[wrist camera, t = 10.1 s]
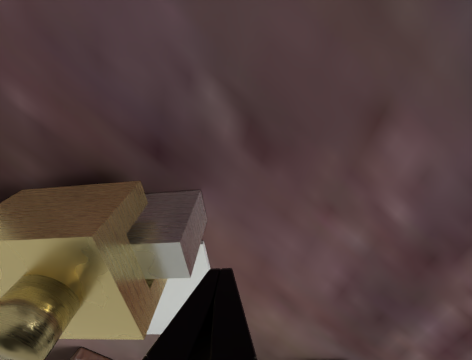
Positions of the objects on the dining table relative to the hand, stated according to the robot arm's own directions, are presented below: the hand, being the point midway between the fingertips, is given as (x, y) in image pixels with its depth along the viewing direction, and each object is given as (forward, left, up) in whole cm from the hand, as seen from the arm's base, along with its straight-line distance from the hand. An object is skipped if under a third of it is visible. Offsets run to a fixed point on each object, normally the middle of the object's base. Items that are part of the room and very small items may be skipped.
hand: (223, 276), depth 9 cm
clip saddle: (0, +7, -3) cm, 7 cm away
